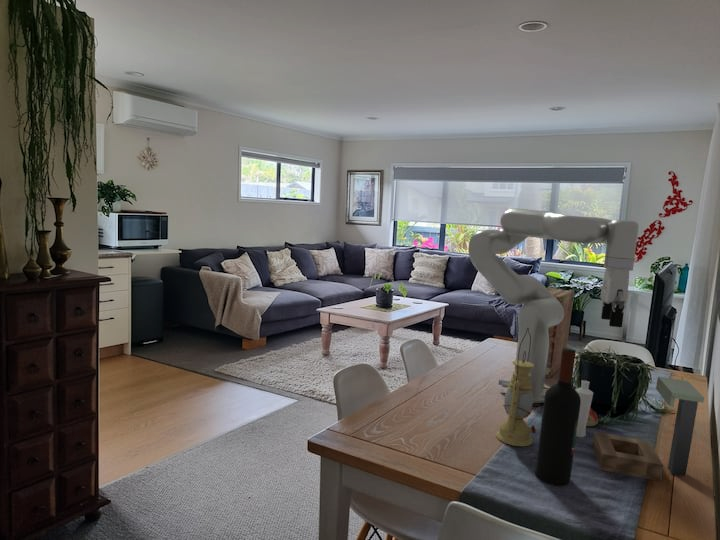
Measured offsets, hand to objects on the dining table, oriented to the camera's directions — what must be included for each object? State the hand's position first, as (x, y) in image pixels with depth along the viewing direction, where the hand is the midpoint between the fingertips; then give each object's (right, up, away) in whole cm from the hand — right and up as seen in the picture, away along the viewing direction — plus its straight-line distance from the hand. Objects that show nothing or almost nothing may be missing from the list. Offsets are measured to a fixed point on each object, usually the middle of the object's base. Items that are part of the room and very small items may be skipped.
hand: (611, 322), depth 152 cm
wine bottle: (-28, -32, -31) cm, 53 cm away
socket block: (-7, -32, -22) cm, 39 cm away
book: (-1, -23, +52) cm, 57 cm away
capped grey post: (+2, -33, -24) cm, 41 cm away
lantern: (-31, -30, -13) cm, 45 cm away
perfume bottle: (-12, -30, -7) cm, 33 cm away
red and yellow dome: (-6, -29, +3) cm, 30 cm away
